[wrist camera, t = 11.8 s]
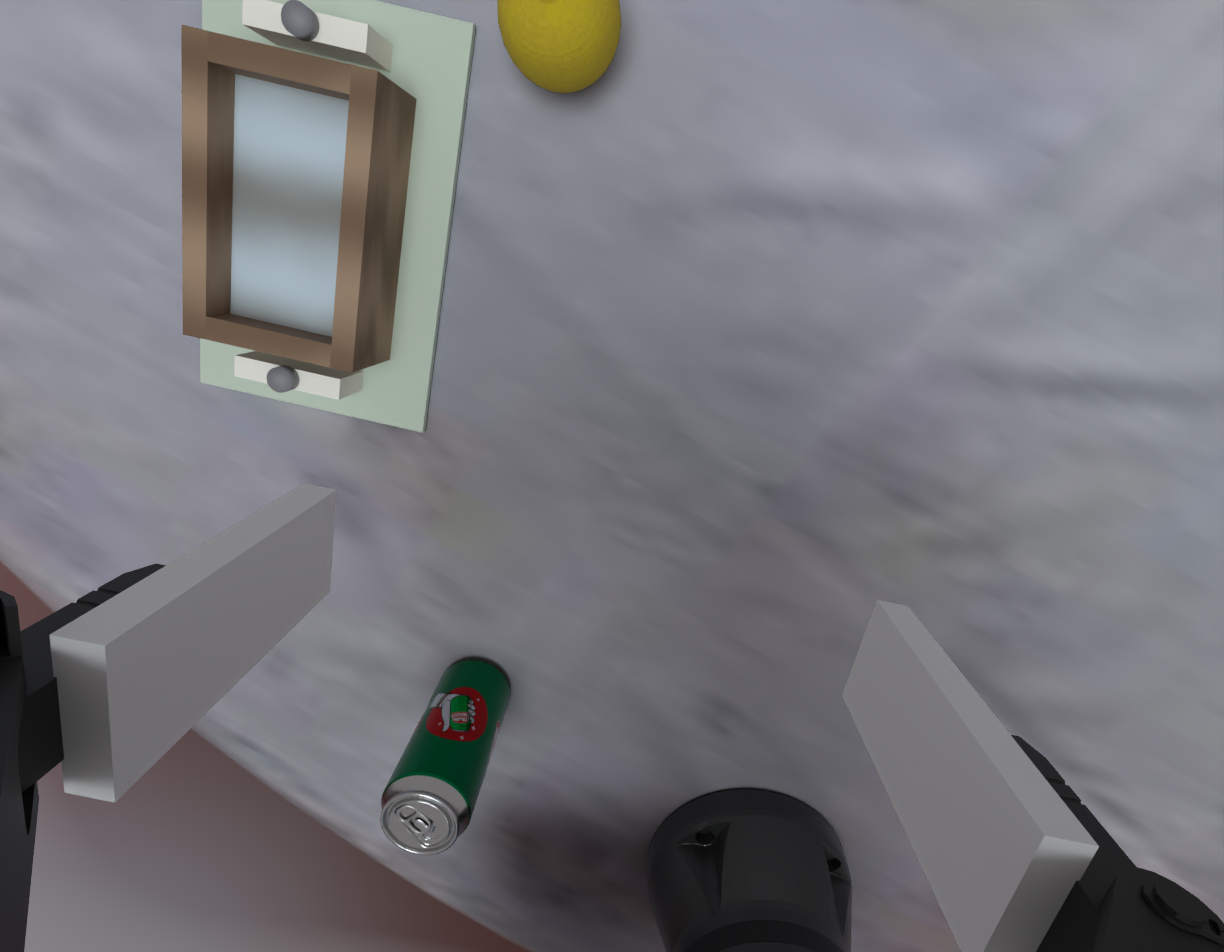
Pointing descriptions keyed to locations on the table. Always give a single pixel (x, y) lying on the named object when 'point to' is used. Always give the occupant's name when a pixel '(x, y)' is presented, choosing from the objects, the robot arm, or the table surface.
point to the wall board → (439, 79)
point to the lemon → (560, 40)
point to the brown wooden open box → (291, 201)
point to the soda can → (445, 760)
